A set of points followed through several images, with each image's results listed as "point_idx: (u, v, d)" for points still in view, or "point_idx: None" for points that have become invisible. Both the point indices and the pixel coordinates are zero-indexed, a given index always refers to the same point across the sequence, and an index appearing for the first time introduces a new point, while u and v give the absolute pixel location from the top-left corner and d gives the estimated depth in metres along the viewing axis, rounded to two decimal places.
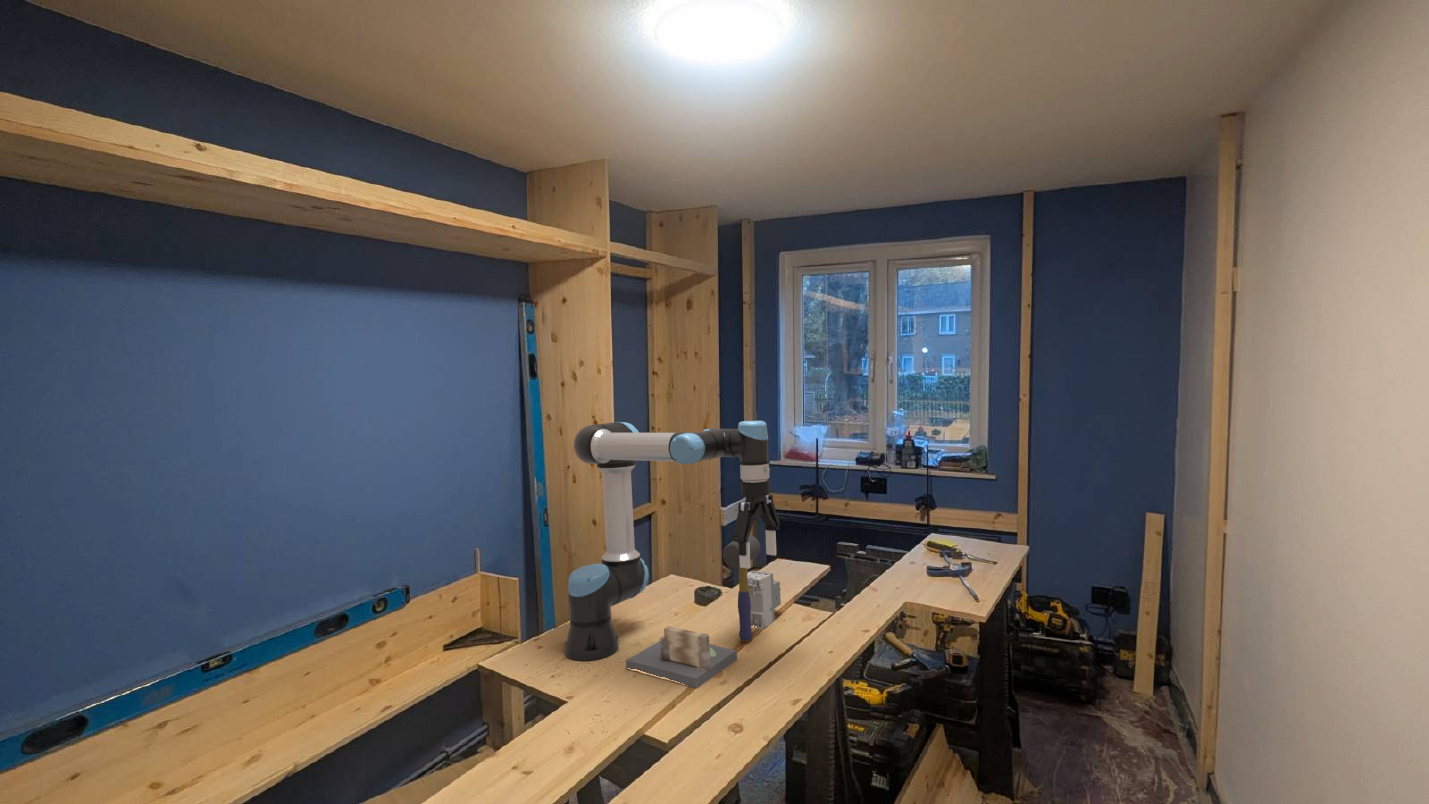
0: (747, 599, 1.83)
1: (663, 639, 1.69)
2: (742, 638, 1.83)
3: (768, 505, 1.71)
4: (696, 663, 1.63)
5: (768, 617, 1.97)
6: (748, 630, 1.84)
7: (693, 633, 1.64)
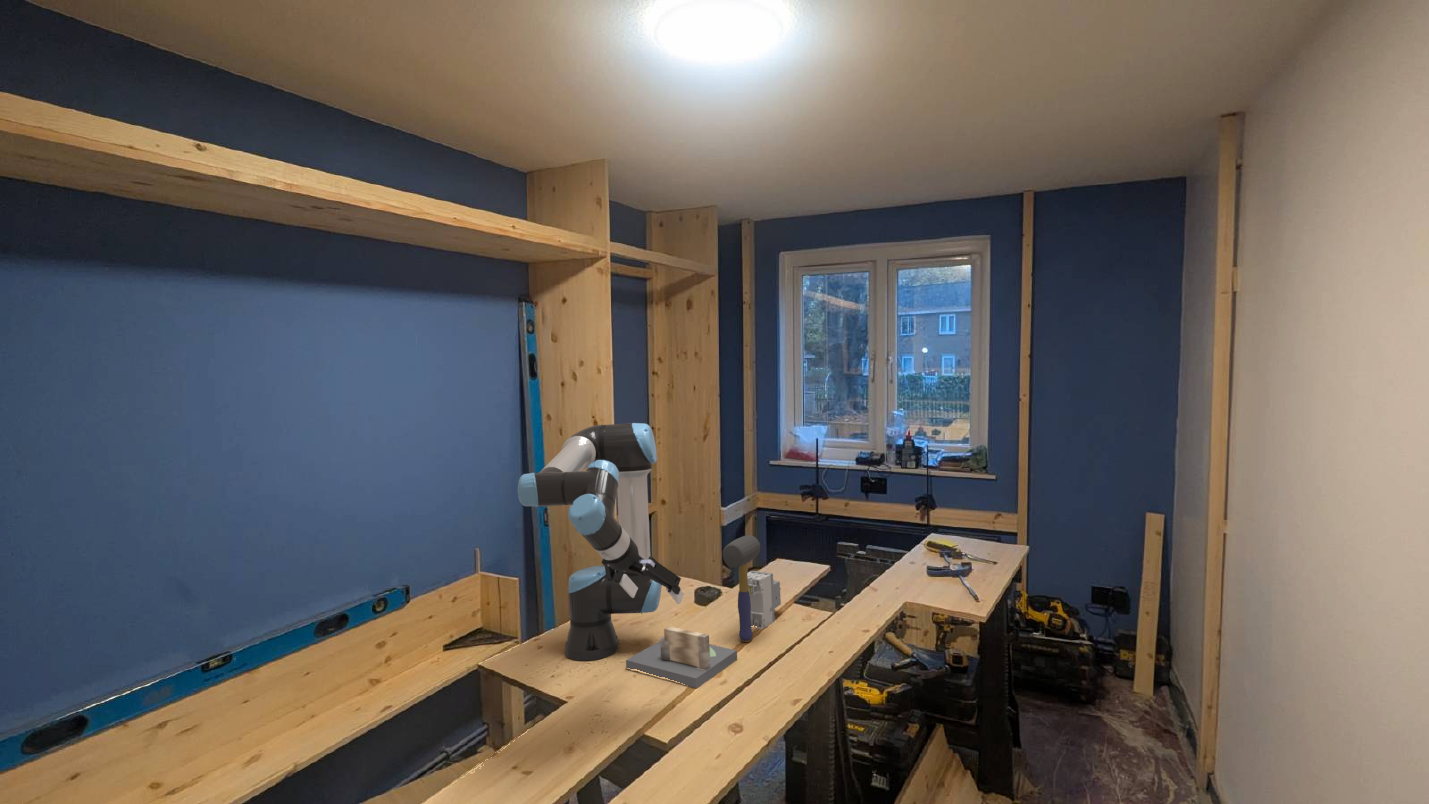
0: (747, 599, 1.83)
1: (663, 639, 1.69)
2: (742, 638, 1.83)
3: None
4: (696, 663, 1.63)
5: (768, 617, 1.97)
6: (748, 630, 1.84)
7: (693, 633, 1.64)
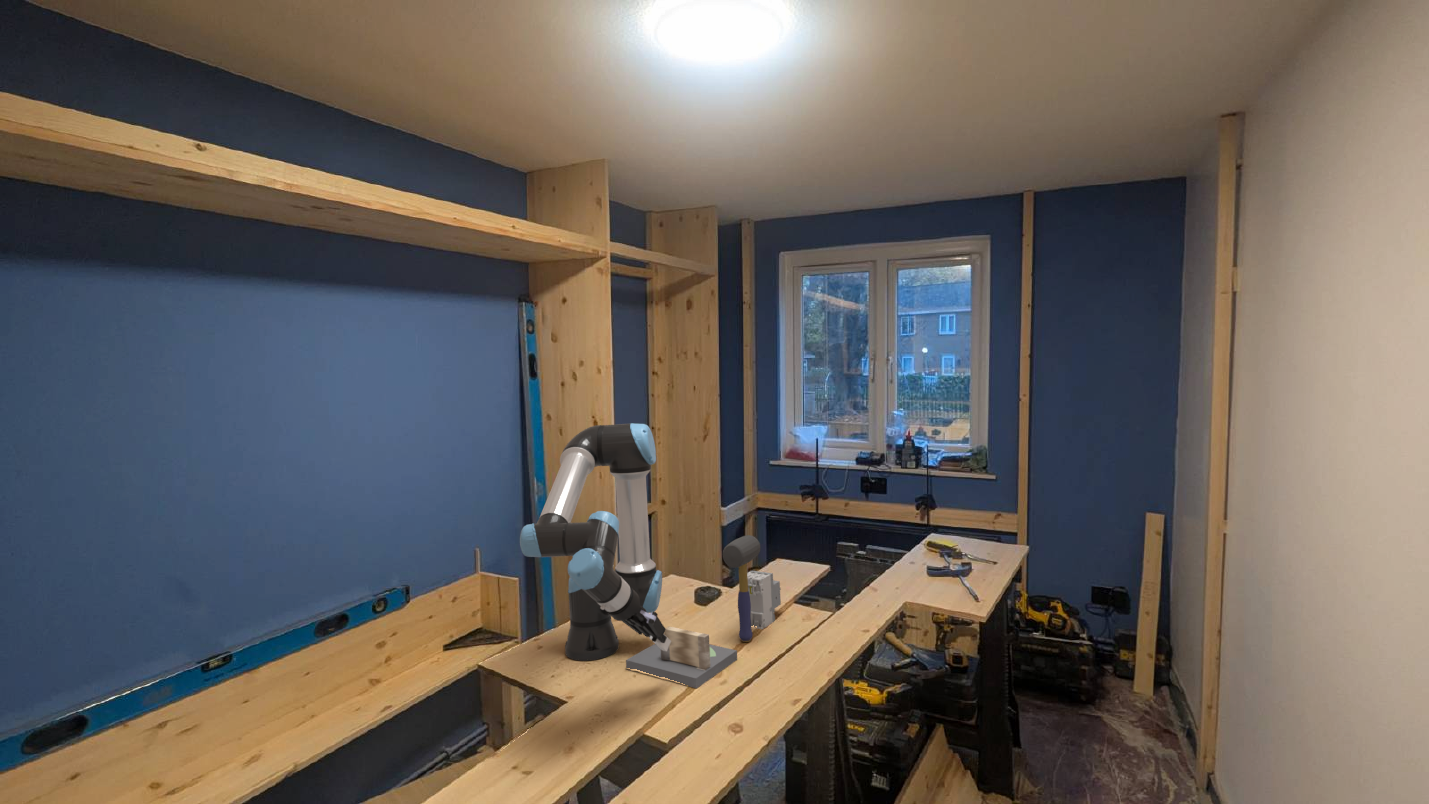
0: (747, 599, 1.83)
1: None
2: (742, 638, 1.83)
3: None
4: (696, 663, 1.63)
5: (768, 617, 1.97)
6: (748, 630, 1.84)
7: (693, 633, 1.64)
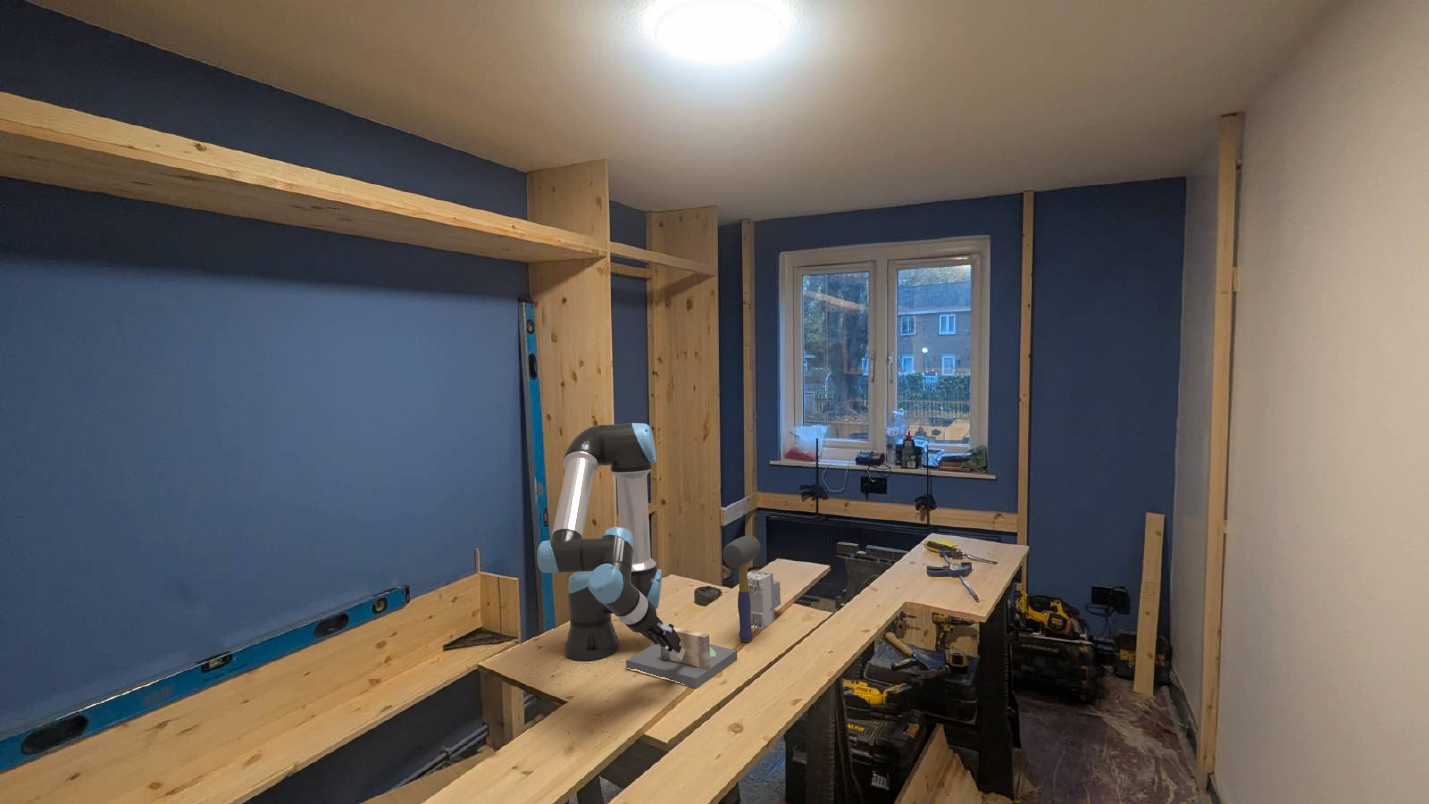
0: (747, 599, 1.83)
1: None
2: (742, 638, 1.83)
3: None
4: (696, 663, 1.63)
5: (768, 617, 1.97)
6: (748, 630, 1.84)
7: (693, 633, 1.64)
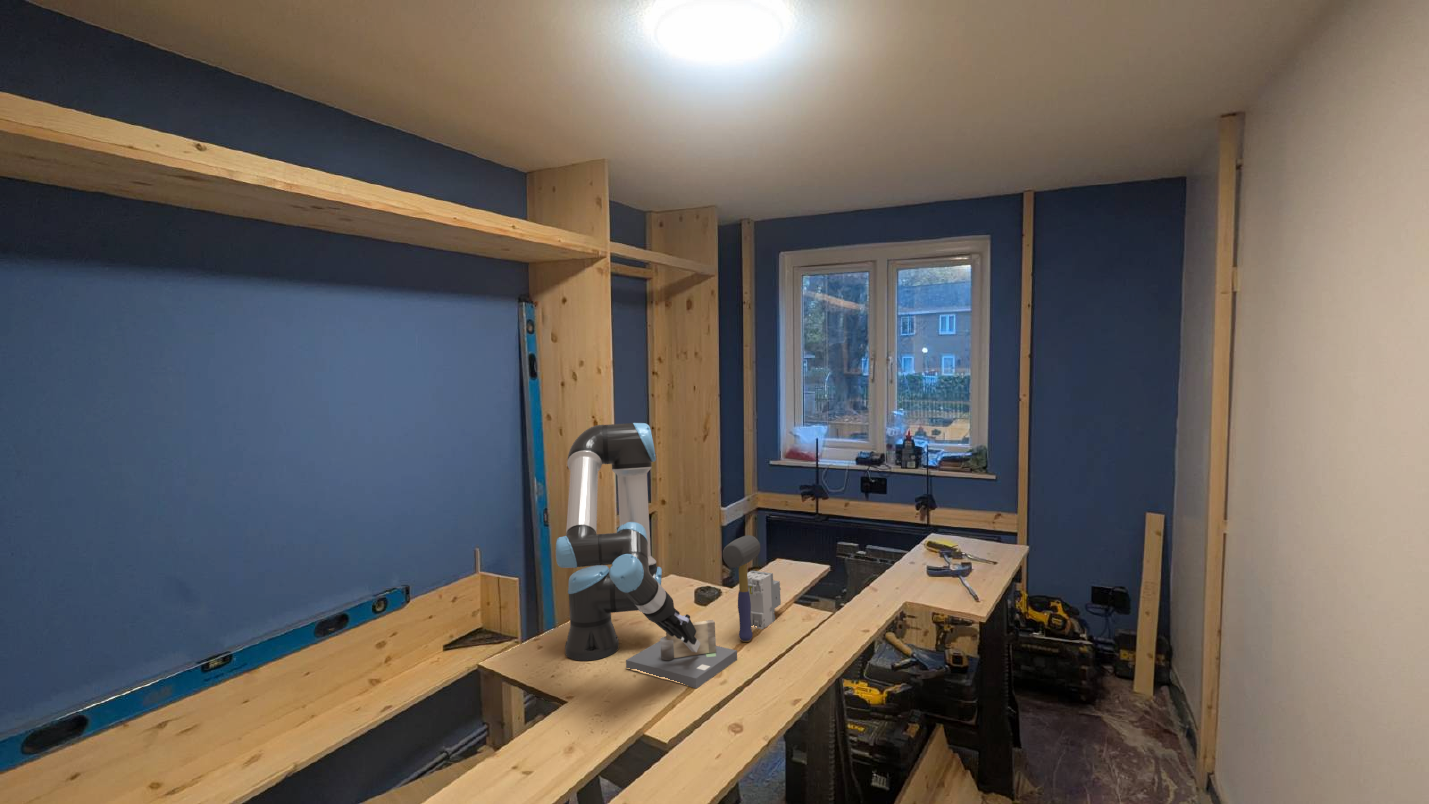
0: (747, 599, 1.83)
1: (665, 640, 1.68)
2: (742, 638, 1.83)
3: None
4: (705, 650, 1.71)
5: (768, 617, 1.97)
6: (748, 630, 1.84)
7: (699, 623, 1.71)
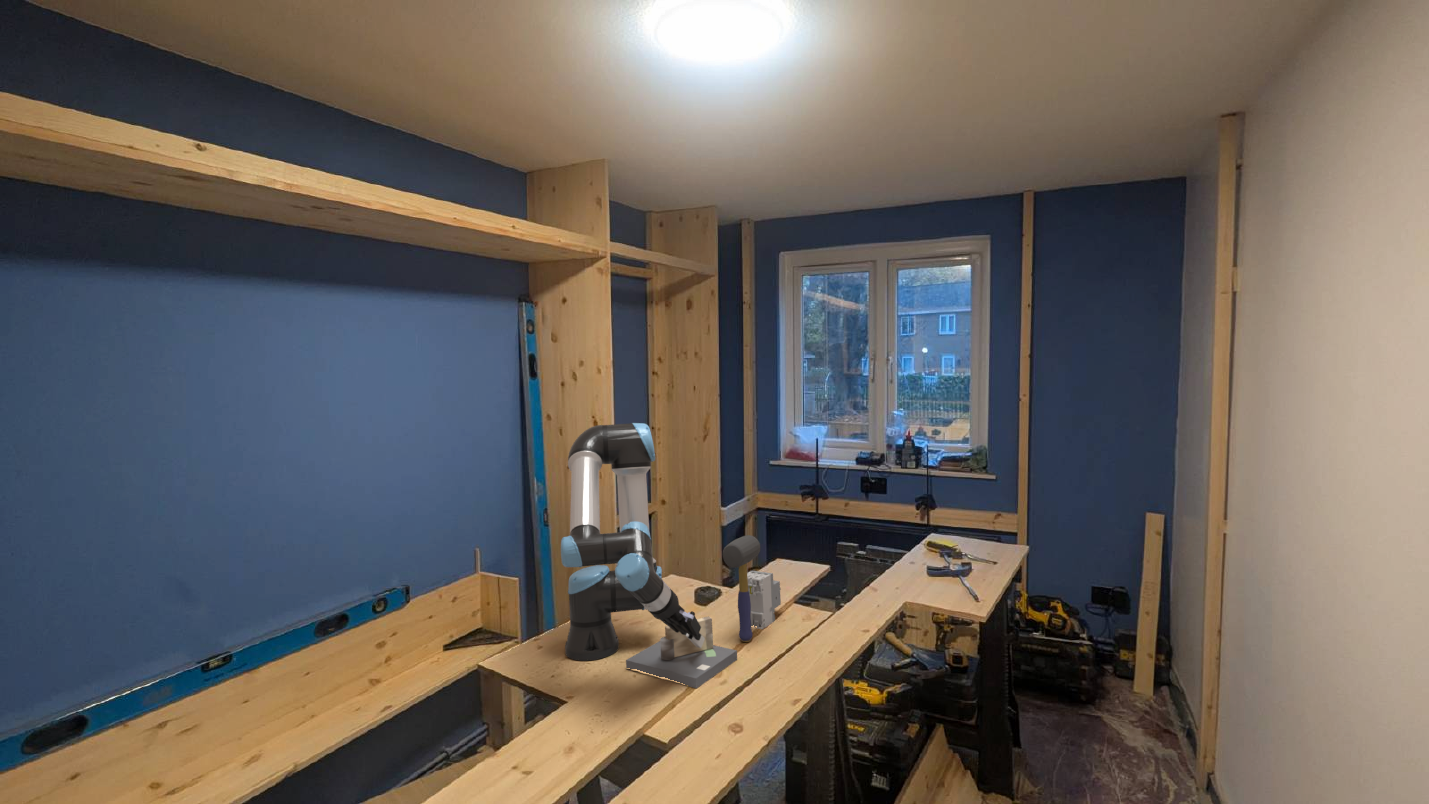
0: (747, 599, 1.83)
1: (666, 640, 1.68)
2: (742, 638, 1.83)
3: None
4: (703, 647, 1.73)
5: (768, 617, 1.97)
6: (748, 630, 1.84)
7: None
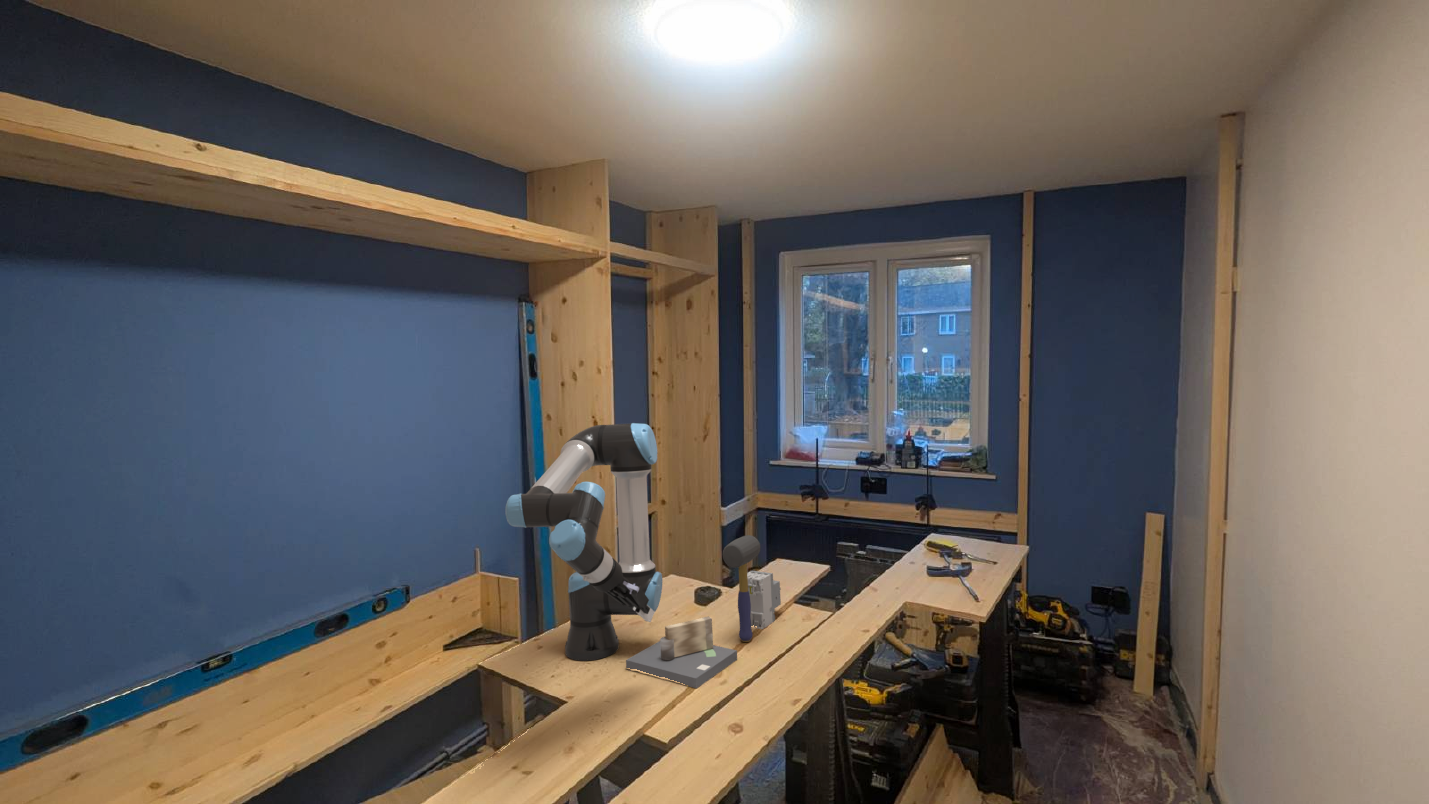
0: (747, 599, 1.83)
1: (666, 640, 1.68)
2: (742, 638, 1.83)
3: None
4: (703, 647, 1.73)
5: (768, 617, 1.97)
6: (748, 630, 1.84)
7: (696, 620, 1.73)
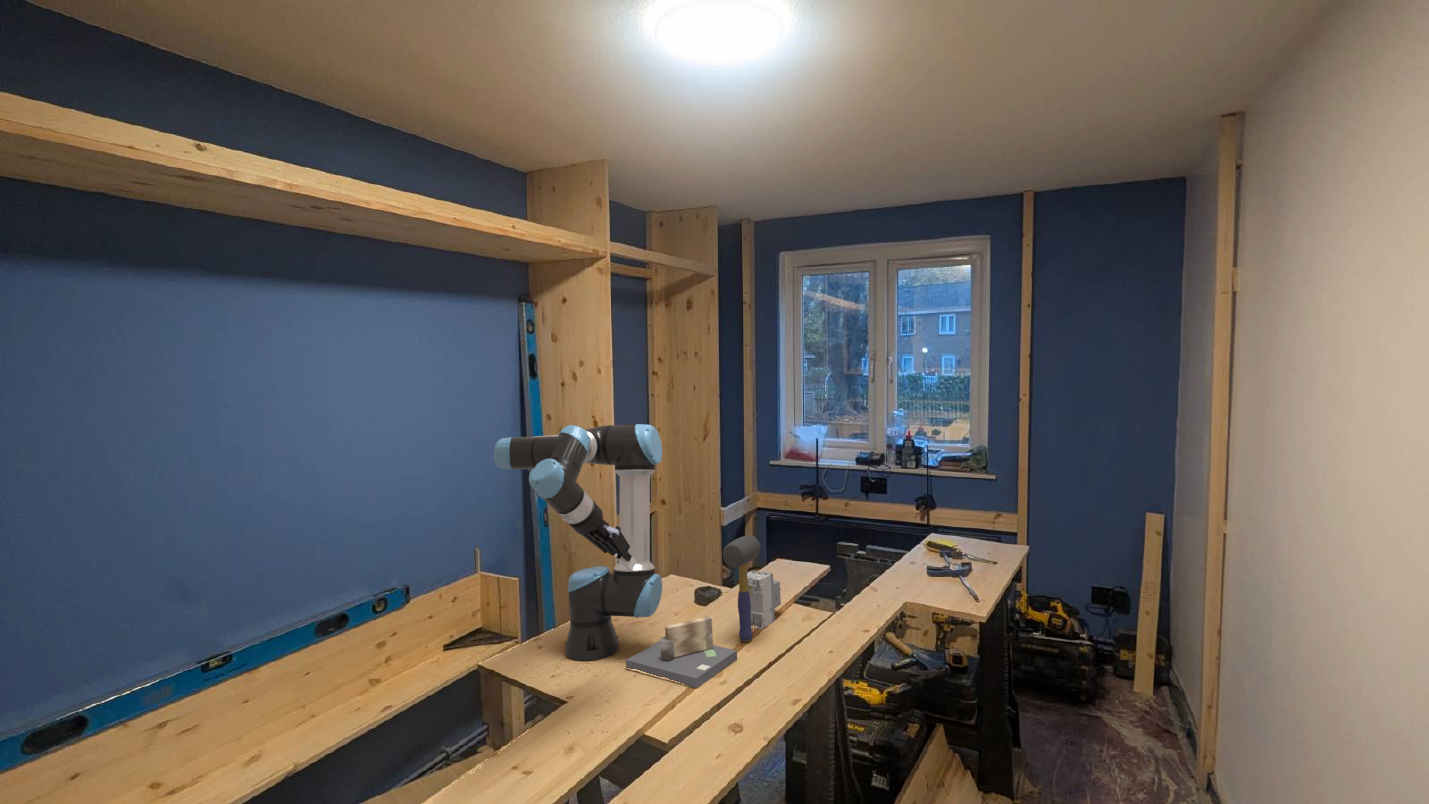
0: (747, 599, 1.83)
1: (666, 640, 1.68)
2: (742, 638, 1.83)
3: None
4: (703, 647, 1.73)
5: (768, 617, 1.97)
6: (748, 630, 1.84)
7: (696, 620, 1.73)
